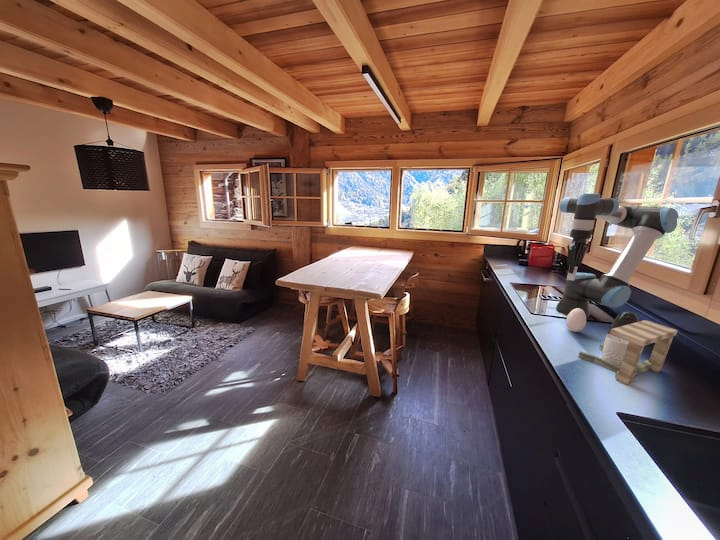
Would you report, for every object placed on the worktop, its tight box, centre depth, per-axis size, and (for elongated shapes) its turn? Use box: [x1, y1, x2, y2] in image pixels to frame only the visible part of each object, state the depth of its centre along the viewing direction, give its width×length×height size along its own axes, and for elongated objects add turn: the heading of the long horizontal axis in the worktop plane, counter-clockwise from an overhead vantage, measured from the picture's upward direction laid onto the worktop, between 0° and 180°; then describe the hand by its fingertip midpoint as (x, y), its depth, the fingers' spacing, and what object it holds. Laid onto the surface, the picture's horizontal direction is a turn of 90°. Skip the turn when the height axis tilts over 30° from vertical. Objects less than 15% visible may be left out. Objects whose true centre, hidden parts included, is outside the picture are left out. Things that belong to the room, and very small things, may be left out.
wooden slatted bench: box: [578, 319, 679, 386], centre depth 107 cm, size 24×18×17 cm
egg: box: [565, 308, 587, 333], centre depth 135 cm, size 7×7×12 cm
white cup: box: [600, 333, 629, 367], centre depth 109 cm, size 8×8×10 cm
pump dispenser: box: [607, 310, 640, 335], centre depth 124 cm, size 10×10×15 cm
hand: (570, 279), depth 132 cm, fingers closed
